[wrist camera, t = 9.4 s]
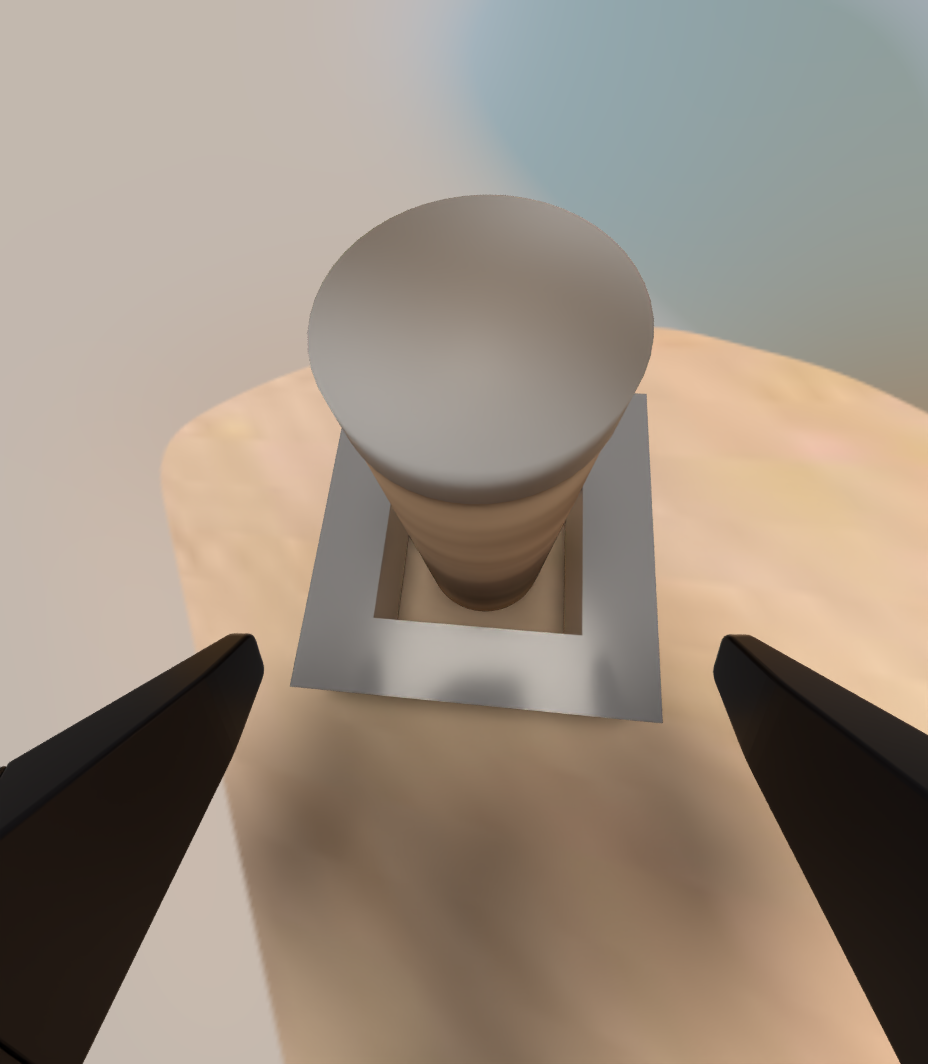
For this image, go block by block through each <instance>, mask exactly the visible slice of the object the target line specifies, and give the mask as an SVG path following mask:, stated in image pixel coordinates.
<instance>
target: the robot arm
mask: <svg viewBox="0 0 928 1064" xmlns="http://www.w3.org/2000/svg"><path fill="white" fill-rule="evenodd" d="M263 674H264V665H263V661H262V658H261V655H260V652H259V649H258V645H257V642H256V639H255V637H254V636H253V635H251V634H239V633H234V634H229V635H227V636H225V637H224V638H222V639H220V640H219V641H217V642H215V643H213V644H212V645H210V646H208V647H207V648H205V649H203V650H201V651H200V652H198V653H196V654H195V655H193V656H191V657H190V658H188V659H186V660H185V661H183V662H181V663H179V664H177V665H176V666H174V667H172V668H171V669H169V670H167V671H165V672H164V673H162V674H160V675H159V676H157V677H155V678H153V679H152V680H150V681H148V682H147V683H145V684H143V685H141V686H140V687H138V688H136V689H134V690H133V691H131V692H129V693H128V694H126V695H124V696H122V697H121V698H119V699H117V700H116V701H114V702H112V703H111V704H109V705H107V706H106V707H104V708H102V709H100V710H99V711H97V712H95V713H93V714H92V715H90V716H88V717H86V718H85V719H83V720H81V721H79V722H78V723H76V724H74V725H73V726H71V727H69V728H67V729H66V730H64V731H63V732H61V733H59V734H57V735H55V736H54V737H52V738H50V739H49V740H47V741H46V742H43V743H42V744H40V745H38V746H37V747H35V748H33V749H31V750H30V751H28V752H26V753H24V754H23V755H21V756H19V757H18V758H16V759H14V760H12V761H11V762H9V763H8V765H7V767H6V766H3V767H0V1064H83V1062H84V1060H85V1058H86V1056H87V1054H88V1052H89V1050H90V1048H91V1046H92V1044H93V1042H94V1040H95V1038H96V1035H97V1034H98V1031H99V1029H100V1027H101V1025H102V1023H103V1021H104V1019H105V1017H106V1015H107V1013H108V1011H109V1009H110V1007H111V1005H112V1003H113V1001H114V999H115V997H116V995H117V992H118V991H119V988H120V986H121V984H122V982H123V980H124V978H125V976H126V974H127V972H128V970H129V968H130V966H131V964H132V962H133V960H134V958H135V956H136V953H137V952H138V949H139V947H140V945H141V943H142V941H143V939H144V937H145V935H146V933H147V931H148V929H149V927H150V925H151V923H152V921H153V919H154V916H155V915H156V913H157V911H158V909H159V907H160V904H161V902H162V900H163V898H164V896H165V894H166V892H167V890H168V888H169V886H170V884H171V882H172V880H173V878H174V876H175V874H176V872H177V869H178V868H179V865H180V864H181V861H182V859H183V857H184V855H185V853H186V851H187V849H188V847H189V845H190V843H191V841H192V839H193V837H194V835H195V833H196V831H197V829H198V827H199V825H200V822H201V820H202V818H203V816H204V814H205V812H206V810H207V808H208V806H209V804H210V802H211V799H212V798H213V796H214V793H215V792H216V790H217V787H218V786H219V784H220V782H221V780H222V777H223V775H224V773H225V771H226V769H227V767H228V765H229V763H230V761H231V759H232V757H233V754H234V752H235V750H236V747H237V745H238V742H239V740H240V737H241V735H242V732H243V729H244V727H245V724H246V721H247V719H248V716H249V713H250V710H251V708H252V705H253V702H254V700H255V697H256V694H257V692H258V689H259V686H260V684H261V681H262V678H263ZM713 674H714V680H715V683H716V685H717V688H718V690H719V693H720V696H721V698H722V701H723V703H724V706H725V708H726V711H727V714H728V716H729V719H730V721H731V724H732V726H733V729H734V732H735V734H736V737H737V739H738V742H739V744H740V747H741V749H742V752H743V754H744V756H745V759H746V761H747V763H748V765H749V767H750V769H751V771H752V773H753V775H754V777H755V779H756V781H757V783H758V785H759V787H760V789H761V791H762V793H763V795H764V797H765V799H766V801H767V803H768V805H769V807H770V809H771V811H772V813H773V815H774V817H775V819H776V821H777V823H778V824H779V826H780V828H781V830H782V832H783V834H784V836H785V838H786V840H787V842H788V844H789V846H790V848H791V850H792V852H793V854H794V856H795V858H796V860H797V862H798V864H799V866H800V868H801V870H802V871H803V873H804V875H805V877H806V879H807V881H808V883H809V885H810V887H811V889H812V891H813V893H814V895H815V897H816V899H817V901H818V903H819V905H820V907H821V909H822V911H823V913H824V915H825V917H826V919H827V920H828V922H829V924H830V926H831V928H832V930H833V932H834V934H835V936H836V938H837V940H838V942H839V944H840V946H841V948H842V950H843V952H844V954H845V956H846V958H847V960H848V962H849V964H850V966H851V967H852V969H853V971H854V973H855V975H856V977H857V979H858V981H859V983H860V985H861V987H862V989H863V991H864V993H865V995H866V997H867V999H868V1001H869V1003H870V1005H871V1007H872V1009H873V1011H874V1013H875V1015H876V1016H877V1018H878V1020H879V1022H880V1024H881V1026H882V1028H883V1030H884V1032H885V1034H886V1036H887V1038H888V1040H889V1042H890V1044H891V1046H892V1048H893V1050H894V1052H895V1054H896V1056H897V1058H898V1060H899V1062H900V1063H901V1064H928V735H927V734H925V733H923V732H922V731H920V730H918V729H916V728H914V727H913V726H911V725H909V724H907V723H906V722H904V721H902V720H900V719H898V718H897V717H895V716H893V715H891V714H890V713H888V712H886V711H884V710H882V709H881V708H879V707H877V706H875V705H874V704H872V703H870V702H868V701H866V700H865V699H863V698H861V697H859V696H858V695H856V694H854V693H852V692H850V691H849V690H847V689H845V688H843V687H842V686H840V685H838V684H836V683H834V682H833V681H831V680H829V679H827V678H826V677H824V676H822V675H820V674H818V673H817V672H815V671H813V670H811V669H810V668H808V667H806V666H804V665H802V664H801V663H799V662H797V661H795V660H794V659H792V658H790V657H788V656H786V655H785V654H783V653H781V652H779V651H778V650H776V649H774V648H772V647H770V646H769V645H767V644H765V643H763V642H762V641H760V640H758V639H756V638H754V637H753V636H750V635H733V634H729V635H726V636H724V638H723V639H722V641H721V644H720V647H719V651H718V654H717V658H716V661H715V664H714V669H713Z"/></svg>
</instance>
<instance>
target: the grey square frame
mask: <svg viewBox="0 0 928 1064" xmlns="http://www.w3.org/2000/svg"><path fill="white" fill-rule="evenodd" d="M408 537H409V534H408V533H407V531H406V529H405V528H404V526H403V524H402V522H401V521H400V519H399V517H398V516H397V514H396V512H395V511H394V509H393V507H392V505H391V504H390V502H389V500H388V499H387V497H386V495H385V494H384V492H383V490H382V488H381V487H380V485H379V483H378V482H377V480H376V478H375V476H374V475H373V473H372V471H371V470H370V468H369V466H368V465H367V463H366V461H365V460H364V459H363V458H362V457H361V455H360V454H359V453H358V451H357V450H356V449H355V448H354V446H353V445H352V444H351V442H350V441H349V439H348V437H347V436H346V434H345V432H344V431H343V429H341V434H340V439H339V444H338V449H337V454H336V459H335V464H334V469H333V474H332V479H331V484H330V489H329V494H328V499H327V504H326V509H325V514H324V519H323V524H322V529H321V534H320V539H319V544H318V549H317V554H316V559H315V564H314V569H313V574H312V579H311V584H310V589H309V594H308V599H307V603H306V608H305V613H304V618H303V623H302V628H301V633H300V638H299V643H298V648H297V653H296V658H295V663H294V668H293V673H292V678H291V683H290V686H291V687H301V688H311V689H322V690H332V691H342V692H352V693H362V694H372V695H382V696H392V697H402V698H412V699H422V700H432V701H442V702H453V703H463V704H473V705H483V706H493V707H503V708H513V709H523V710H533V711H543V712H553V713H563V714H573V715H583V716H594V717H604V718H614V719H624V720H634V721H644V722H654V723H663V719H662V698H661V678H660V658H659V638H658V618H657V598H656V578H655V557H654V537H653V517H652V497H651V477H650V457H649V436H648V416H647V396H646V394H634V395H633V397H632V399H631V401H630V403H629V405H628V406H627V408H626V410H625V412H624V414H623V416H622V418H621V420H620V422H619V424H618V425H617V427H616V429H615V431H614V433H613V435H612V436H611V438H610V439H609V440H608V442H607V443H606V444H605V446H604V447H603V448H602V450H601V451H600V453H599V455H598V457H597V459H596V461H595V463H594V465H593V467H592V469H591V471H590V473H589V475H588V477H587V479H586V481H585V483H584V485H583V487H582V489H581V491H580V493H579V495H578V497H577V499H576V501H575V503H574V505H573V507H572V509H571V511H570V513H569V515H568V516H567V518H566V522H565V582H564V634H559V633H547V632H535V631H523V630H511V629H499V628H488V627H476V626H464V625H452V624H440V623H428V622H416V621H405V620H397V619H398V612H399V604H400V597H401V589H402V582H403V575H404V567H405V560H406V552H407V545H408Z"/></svg>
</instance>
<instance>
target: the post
mask: <svg viewBox="0 0 928 1064" xmlns="http://www.w3.org/2000/svg"><path fill="white" fill-rule="evenodd" d="M653 338H654V318H653V312H652V306H651V300H650V297H649V294H648V291H647V289H646V286H645V283H644V281H643V279H642V277H641V275H640V273H639V272H638V270H637V268H636V266H635V265H634V263H633V262H632V261H631V259H630V258H629V257H628V255H627V254H626V253H625V251H624V250H623V249H622V248H621V247H619V245H618V244H617V243H616V242H615V241H614V240H613V239H612V238H611V237H609V236H608V235H607V234H606V233H604V232H603V231H602V230H600V229H599V228H598V227H596V226H595V225H593V224H592V223H590V222H588V221H587V220H585V219H583V218H582V217H580V216H578V215H575V214H573V213H571V212H569V211H567V210H565V209H562V208H559V207H557V206H554V205H551V204H547V203H545V202H541V201H536V200H532V199H527V198H522V197H514V196H506V195H473V196H462V197H455V198H449V199H443V200H439V201H436V202H431V203H427V204H424V205H421V206H418V207H415V208H413V209H410V210H407V211H405V212H403V213H401V214H398V215H396V216H394V217H392V218H390V219H388V220H387V221H385V222H383V223H382V224H380V225H378V226H376V227H375V228H373V229H372V230H371V231H369V232H368V233H366V234H365V235H364V236H362V237H361V238H360V239H358V240H357V241H356V242H355V243H354V244H353V245H352V246H351V247H350V248H349V249H348V250H347V251H345V252H344V254H343V255H342V256H341V257H340V259H339V260H338V261H337V262H336V263H335V265H333V267H332V268H331V270H330V271H329V273H328V275H327V276H326V278H325V279H324V281H323V282H322V285H321V287H320V289H319V291H318V293H317V295H316V297H315V300H314V303H313V307H312V310H311V313H310V319H309V326H308V354H309V360H310V365H311V370H312V372H313V375H314V378H315V381H316V384H317V386H318V388H319V390H320V392H321V394H322V395H323V397H324V399H325V401H326V403H327V404H328V406H329V408H330V409H331V411H332V412H333V414H334V416H335V417H336V419H337V421H338V422H339V424H340V426H341V427H342V429H343V431H344V432H345V434H346V436H347V437H348V439H349V441H350V442H351V444H352V445H353V446H354V448H355V449H356V450H357V451H358V453H359V454H360V455H361V457H362V458H363V459H364V460H365V461H366V463H367V465H368V466H369V468H370V470H371V471H372V473H373V475H374V476H375V478H376V480H377V482H378V483H379V485H380V487H381V488H382V490H383V492H384V494H385V495H386V497H387V499H388V500H389V502H390V504H391V505H392V507H393V509H394V511H395V512H396V514H397V516H398V517H399V519H400V521H401V522H402V524H403V526H404V528H405V529H406V531H407V533H408V534H409V536H410V538H411V540H412V541H413V543H414V545H415V546H416V548H417V550H418V551H419V553H420V555H421V557H422V558H423V560H424V562H425V563H426V565H427V567H428V568H429V570H430V572H431V574H432V575H433V577H434V579H435V580H436V582H437V584H438V586H439V587H440V588H441V590H442V591H443V592H444V593H445V594H446V595H447V596H448V597H449V598H450V599H451V600H453V601H454V602H456V603H457V604H459V605H461V606H463V607H466V608H469V609H473V610H478V611H493V610H498V609H502V608H505V607H507V606H510V605H512V604H513V603H515V602H517V601H518V600H519V599H521V598H522V597H523V596H524V595H525V594H526V593H527V592H528V591H529V589H530V588H531V587H532V585H533V583H534V581H535V579H536V578H537V576H538V574H539V572H540V570H541V568H542V566H543V564H544V562H545V560H546V558H547V556H548V554H549V552H550V550H551V548H552V546H553V544H554V542H555V540H556V538H557V536H558V534H559V532H560V530H561V528H562V526H563V524H564V522H565V520H566V518H567V516H568V515H569V513H570V511H571V509H572V507H573V505H574V503H575V501H576V499H577V497H578V495H579V493H580V491H581V489H582V487H583V485H584V483H585V481H586V479H587V477H588V475H589V473H590V471H591V469H592V467H593V465H594V463H595V461H596V459H597V457H598V455H599V453H600V451H601V450H602V448H603V447H604V446H605V444H606V443H607V442H608V440H609V439H610V438H611V436H612V435H613V433H614V431H615V429H616V427H617V425H618V424H619V422H620V420H621V418H622V416H623V414H624V412H625V410H626V408H627V406H628V405H629V403H630V401H631V399H632V397H633V395H634V393H635V391H636V389H637V387H638V385H639V384H640V382H641V380H642V378H643V376H644V373H645V371H646V368H647V365H648V362H649V359H650V356H651V350H652V344H653Z"/></svg>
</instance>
